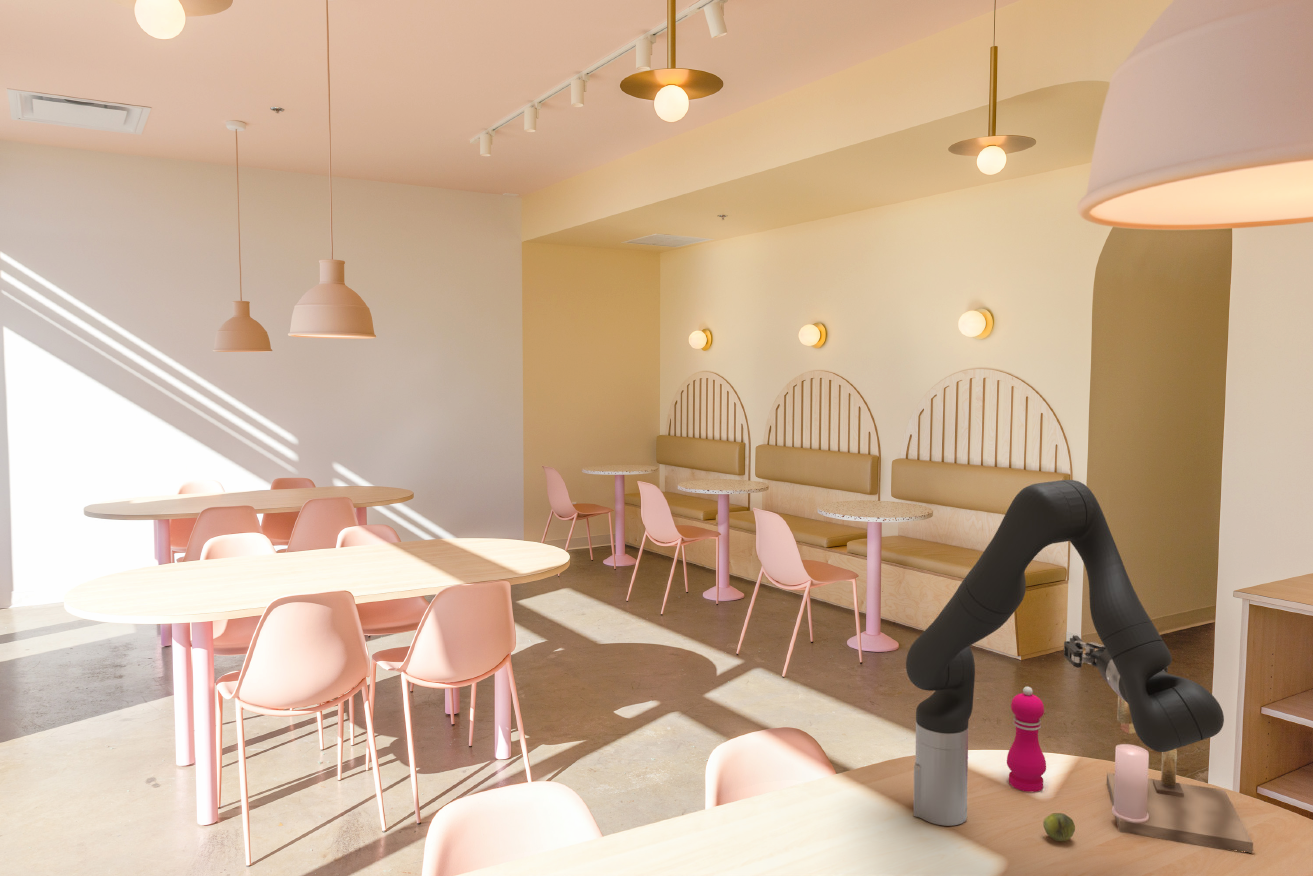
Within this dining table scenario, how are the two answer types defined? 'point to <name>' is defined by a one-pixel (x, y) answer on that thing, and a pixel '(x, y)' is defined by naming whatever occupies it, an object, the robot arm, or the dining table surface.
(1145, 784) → the cover
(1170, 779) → the brass crank handle
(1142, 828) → the base
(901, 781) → the dining table surface
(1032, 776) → the pepper mill
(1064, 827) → the lime
